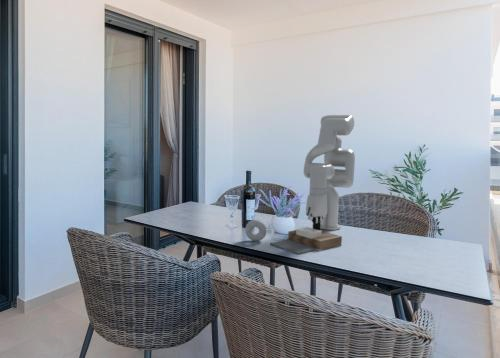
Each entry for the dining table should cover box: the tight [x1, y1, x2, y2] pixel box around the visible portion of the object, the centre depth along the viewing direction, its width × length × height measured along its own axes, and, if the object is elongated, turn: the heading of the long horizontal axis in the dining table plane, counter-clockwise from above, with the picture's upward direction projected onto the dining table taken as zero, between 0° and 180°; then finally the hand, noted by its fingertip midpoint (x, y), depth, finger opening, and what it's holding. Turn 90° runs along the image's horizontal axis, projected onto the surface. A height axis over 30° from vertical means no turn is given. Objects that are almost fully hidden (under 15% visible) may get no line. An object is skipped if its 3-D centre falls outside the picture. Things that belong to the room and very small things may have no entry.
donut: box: [244, 219, 267, 242], centre depth 174 cm, size 10×4×10 cm, turn 80°
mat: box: [269, 239, 318, 255], centre depth 165 cm, size 18×11×1 cm, turn 37°
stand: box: [287, 227, 343, 251], centre depth 173 cm, size 20×14×4 cm
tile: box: [295, 226, 323, 239], centre depth 170 cm, size 9×7×2 cm
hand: (316, 231), depth 174 cm, fingers closed
